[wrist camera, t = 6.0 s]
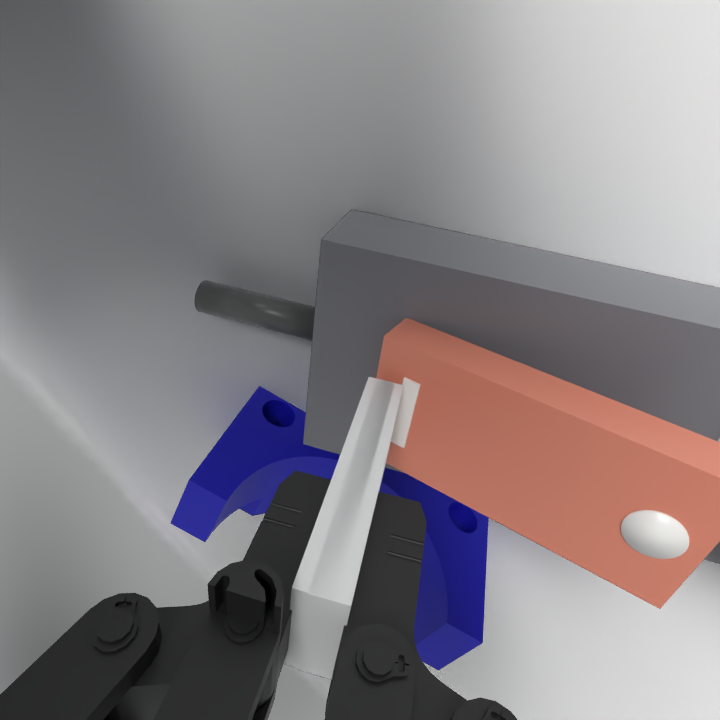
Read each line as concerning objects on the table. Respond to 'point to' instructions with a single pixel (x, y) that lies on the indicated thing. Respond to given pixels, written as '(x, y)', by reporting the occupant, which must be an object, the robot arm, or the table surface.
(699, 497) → the rocker
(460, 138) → the table surface
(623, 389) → the power strip
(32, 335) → the table surface
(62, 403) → the table surface
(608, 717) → the table surface
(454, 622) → the cable clip
